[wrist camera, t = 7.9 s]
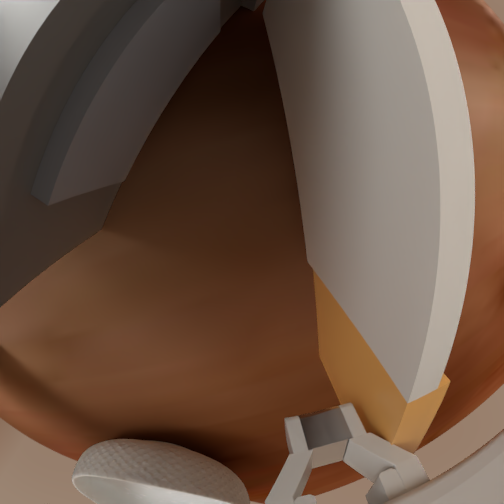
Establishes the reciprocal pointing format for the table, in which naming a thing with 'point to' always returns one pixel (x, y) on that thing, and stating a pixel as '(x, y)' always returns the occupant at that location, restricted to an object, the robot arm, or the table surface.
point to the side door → (380, 196)
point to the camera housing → (83, 111)
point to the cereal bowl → (154, 475)
